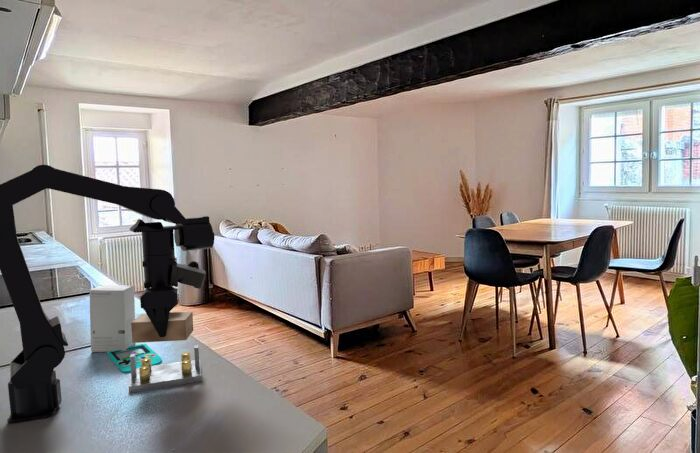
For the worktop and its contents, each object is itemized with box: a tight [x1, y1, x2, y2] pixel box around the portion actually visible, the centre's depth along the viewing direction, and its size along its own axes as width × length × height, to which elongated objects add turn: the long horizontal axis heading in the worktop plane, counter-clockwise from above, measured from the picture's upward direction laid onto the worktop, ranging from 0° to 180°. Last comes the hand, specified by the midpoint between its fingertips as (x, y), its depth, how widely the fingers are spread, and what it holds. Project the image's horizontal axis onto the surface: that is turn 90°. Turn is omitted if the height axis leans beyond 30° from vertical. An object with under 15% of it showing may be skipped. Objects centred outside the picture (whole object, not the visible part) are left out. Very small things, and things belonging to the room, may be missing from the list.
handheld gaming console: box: [107, 343, 163, 374], centre depth 103 cm, size 8×1×15 cm
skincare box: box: [89, 284, 136, 353], centre depth 109 cm, size 8×6×15 cm
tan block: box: [131, 311, 194, 344], centre depth 91 cm, size 10×6×4 cm, turn 96°
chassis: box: [128, 344, 203, 394], centre depth 92 cm, size 13×9×6 cm
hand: (163, 331), depth 91 cm, fingers closed on tan block, 7 cm apart
